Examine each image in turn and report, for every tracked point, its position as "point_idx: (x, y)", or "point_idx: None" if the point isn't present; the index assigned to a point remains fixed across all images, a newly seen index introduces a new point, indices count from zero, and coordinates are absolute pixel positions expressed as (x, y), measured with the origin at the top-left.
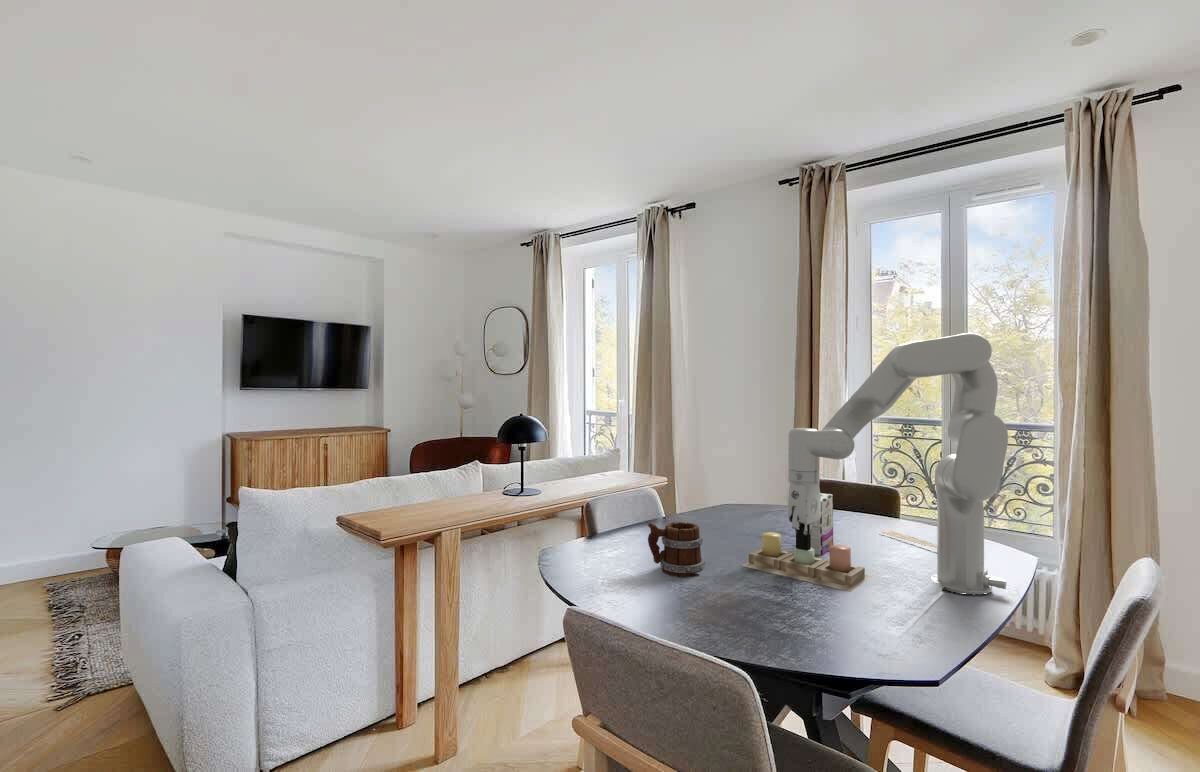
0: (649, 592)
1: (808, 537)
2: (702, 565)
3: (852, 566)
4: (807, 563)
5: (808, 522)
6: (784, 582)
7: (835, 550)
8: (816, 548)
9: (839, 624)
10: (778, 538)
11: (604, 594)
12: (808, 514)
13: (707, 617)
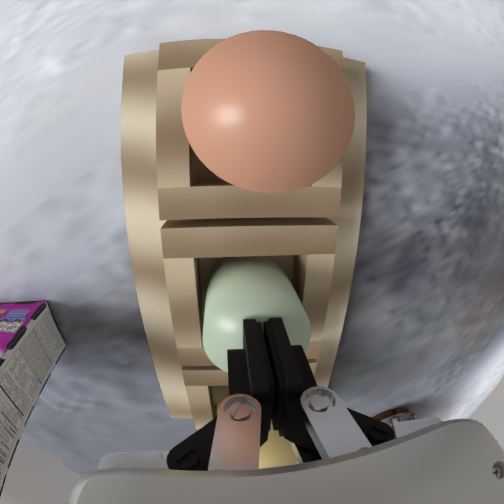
0: (470, 381)
1: (291, 369)
2: (389, 424)
3: (179, 88)
4: (286, 277)
5: (450, 433)
6: (356, 286)
7: (350, 121)
8: (39, 335)
9: (496, 85)
10: (268, 443)
11: (478, 394)
12: (479, 493)
13: None
